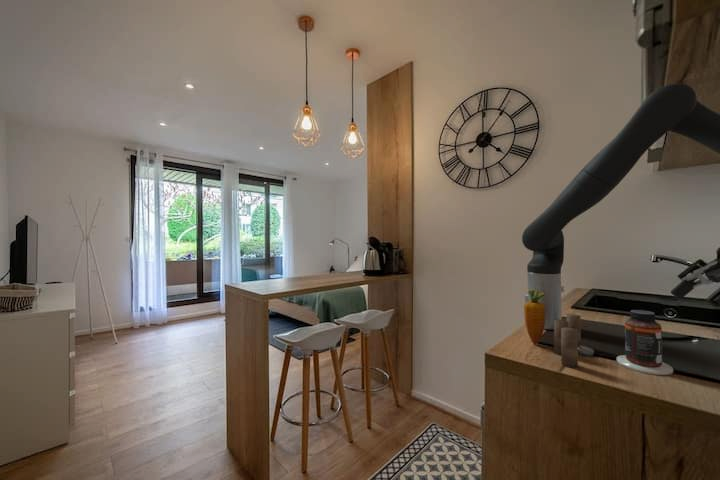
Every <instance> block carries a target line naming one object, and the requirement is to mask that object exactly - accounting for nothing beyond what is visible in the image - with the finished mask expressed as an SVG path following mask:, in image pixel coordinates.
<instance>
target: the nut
mask: <svg viewBox="0 0 720 480" xmlns="http://www.w3.org/2000/svg"><path fill="white" fill-rule="evenodd" d="M594 353H595V349H593V348H590V347H588V346H585V345H582V344H581V345H578V356H583V357H594Z"/></svg>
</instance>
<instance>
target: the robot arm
mask: <svg viewBox="0 0 720 480" xmlns="http://www.w3.org/2000/svg"><path fill="white" fill-rule="evenodd" d="M668 132H671V133H675V134H677V135H680V136H683V137H685V138H688V139H690V140H693V141H695V142H697V143H699V144H700V145H703V146H705V147H706V148H708V149H709V150H712V151H714V152H715V153H716V154H719V155H720V113H717V112H716V111H714V110H712V109H711V108H708V107H707V106H706V105H704V104H703V103H701V102H700V101H698V99H697V93H696V91H695V89H694V88H693V87H691V86H690V85H688V84H684V83H671V84H666V85H664V86H661V87H659V88H657V89H655V90H654V91H652V92H651V93H650V94H648V96H646V97H645V99H644V100H642V103H641V104H640V106H639V107H638V109H637V110H636V111H635V112H634V113H633V115H632V116H631V118H630V119H629V120H628V122H626V124H625V125H624V127H623V128H622V129H621V130H620V131H619V132H618V134H617V135H616V136H615V137H613V139H612V140H611V141H609V143H608V144H606V145H605V146H603V148H602V149H601V150H600V151H598V152H597V154H595V156H594V157H592V159H591V160H590V161H589V162H588V163H587V164H586V165H584V167H583V168H582V169H581V170H580V171H579V172H578V173H577V175H576V176H575V177H574V178H573V179H572V180H571V181H570V183H568V185H567V186H566V187H565V188H564V189H563V190H562V191H561V193H560V194H558V196H557V197H556V198H555V199H554V200H553V201H552V202H551V204H550V205H549V206H548V207H547V208H546V209H545V210H544V211H543V212H542V213H540V215H538V217H536V218H535V219H534V220H533V221H532V222H531V223H530V224H528V225H527V226H526V228H525V229H524V231H523V233H522V236H521V241H522V242H521V243H522V244H523V246H524V247H525V249H527V250H528V251H531V252H533V253H532V258H531V259H530V261H529V262H528V263H527V267H526V271H527V273H526V274H527V275H526V276H527V277H526V278H527V293H526V294H525V295H524V304H525V303H526V302H530V301H531V297H530V294H529V291H530V290H531V289H534V297H535V294H536V291H537V290H539V293H538V296H539V295H540V294H542V293H544V294H545V295H544V296H542V297H541V298H540V299H539V300H538V302H540V303H542V304H543V305H544V306H545V325H544V330H553V331H554V320H557V319H558V320H563V319H562V318H563V317H562V314H563V313H562V267H563V265H564V257H565V256H564V255H565V236H564V232H563V231H562V230H563V229H564V228H565V227H566V226H567V225H568V224H569V223H570V222H571V221H573V220H575V218H578V217H579V216H580V215H582V214H583V213H585V212H586V211H588V210H590V209H592V208H593V207H595V206H596V205H597V204H598V203H600V202H602V200H604V198H606V197H607V196H608V195H609V194H610V193H612V191H613V190H614V189H615V188H616V187H618V185H619V184H620V183H621V182H622V181H623V180H624V178H626V176H627V175H628V174H629V172H630V171H631V170H632V168H634V167H635V165H636V164H637V162H638V161H639V160H640V159H641V157H642V156H643V155H644V154H645V153H646V152H647V151H648V150H649V149H650V148H651V147H652V146H653V145H654V144H656V142H657V141H658V140H659V139H661V138H662V137H663V136H664V135H665V134H667V133H668ZM704 274H705V275H704ZM705 276H706V277H707V278H706V277H705ZM677 278H678V279H679V280H681V282H680V283H678V284H677V285H676V286H675V287H674V288H672V290H671V291H670V294H671V295H673V296H674V297H675V298H676V299H680V300H681V299H683V298H685V297H686V296H687V295H688V294H689V293H691V292H692V291H693V290H694V289H695V288H696V287H699V286H702V285H711V284H713V283H716V284H718V283H719V284H720V247H718V248H717V249H716V258H715V259H713V260H711V261H709V262H706V261H704V260H703V259H697V260H696V261H694V262H693V263H692V264H691V265H689V266H688V267H687V268H685V269H684V270H683V271H681V272H680V273H679V274H677ZM705 302H706V303H708V304H709V305H710V306H712V307H714V308H720V287H718V288H717V289H715V291H714V292H713V293H710V295H708V297H706V299H705Z"/></svg>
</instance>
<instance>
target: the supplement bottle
mask: <svg viewBox="0 0 720 480" xmlns="http://www.w3.org/2000/svg"><path fill="white" fill-rule="evenodd" d="M629 312H630V315H629V316H630V318H628V319H627V320H625V321H624V340H625V341H624V346H625V349H624V350H625V354H624V355H626V359H627V360H629V361H630V362H632V363H635V364H638V365H641V366H647V367H660V366H662V362H664V361H663V330H662V329H663V328H662V325H661V324H660V323H659V322H658V321H656V313H655V312H653V311H649V310H644V309H632V310H630V311H629Z"/></svg>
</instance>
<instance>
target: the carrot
mask: <svg viewBox="0 0 720 480" xmlns="http://www.w3.org/2000/svg"><path fill="white" fill-rule="evenodd" d="M538 293H539V290H537V291H536V294H535V297H534V289H531V290H530V291H529V294H530V297H531V301H530V302H526V303H525V302H524V304H523V313H524V315H523V316H524V322H525V323H524V324H525V328H526V332H527V334H528V336H529V338H530V340H531V342H532V344H534V345H537V344H538V343H539V342H540V340H541V338H542V335H543V333H544V330H545V329H544V325H545V306H544V305H543V304H542V303H540V302H538V300H539V299H540V298H541V297H542V296H544V295H545V294H544V293H542V294H540V295H539V296H538Z"/></svg>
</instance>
